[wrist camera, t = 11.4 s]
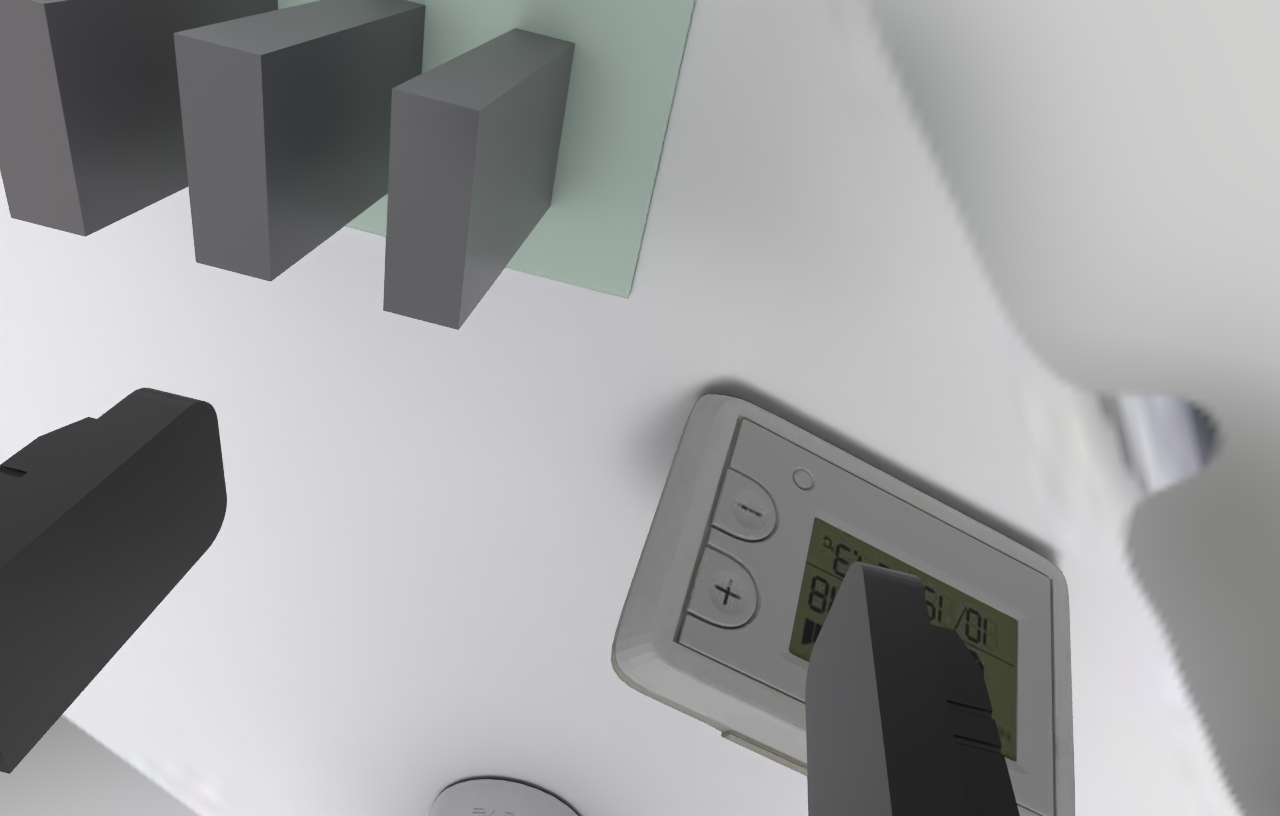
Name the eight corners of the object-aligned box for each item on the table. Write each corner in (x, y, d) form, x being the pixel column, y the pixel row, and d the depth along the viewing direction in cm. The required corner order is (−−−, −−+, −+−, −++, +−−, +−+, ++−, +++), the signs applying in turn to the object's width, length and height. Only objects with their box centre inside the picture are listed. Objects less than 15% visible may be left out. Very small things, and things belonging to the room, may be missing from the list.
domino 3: (550, 206, 26) (458, 330, 19) (496, 192, 27) (383, 310, 19) (575, 42, 24) (479, 110, 16) (515, 27, 24) (391, 88, 16)
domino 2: (415, 172, 27) (270, 281, 19) (362, 158, 27) (196, 262, 19) (425, 5, 24) (260, 54, 16) (365, -10, 24) (173, 33, 16)
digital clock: (1081, 572, 32) (1199, 837, 23) (901, 678, 36) (941, 935, 27) (772, 314, 28) (769, 511, 19) (613, 468, 32) (549, 686, 23)
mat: (629, 294, 28) (627, 299, 28) (-96, 107, 28) (-107, 110, 28) (701, -27, 23) (699, -26, 22) (-197, -253, 23) (-211, -256, 23)
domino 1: (283, 140, 27) (85, 236, 19) (229, 127, 27) (11, 217, 19) (276, -31, 24) (43, 3, 16) (217, -45, 24) (-43, -19, 16)
